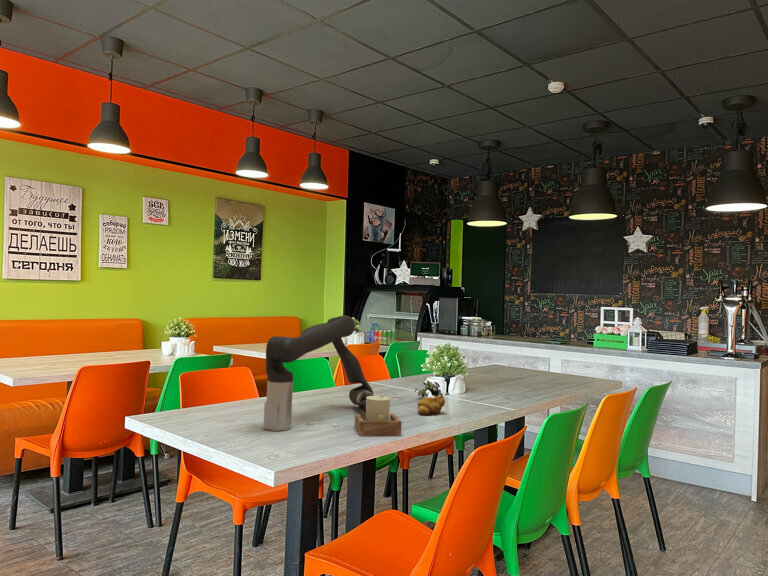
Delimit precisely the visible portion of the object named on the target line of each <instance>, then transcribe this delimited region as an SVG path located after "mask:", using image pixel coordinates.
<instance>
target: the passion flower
mask: <svg viewBox="0 0 768 576" xmlns="http://www.w3.org/2000/svg"><path fill="white" fill-rule="evenodd" d="M422 384H423V385H424V389H423V388H422V389H421V390H420V389H418V388H417V387H416V388H415V389H414V393H416V392H417V391H418V392H417V396H419V397H421V399H423V398H428V397H429V394H431V396H432V397H436V396H443V395H444V394H443V393H442V390H441V389H440V388H441V385H440V383H438V382H437V381H434V382H432V381H430V380H429V379H427V380H426V382H425V381H423V382H422ZM443 397H444V396H443Z"/></svg>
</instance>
